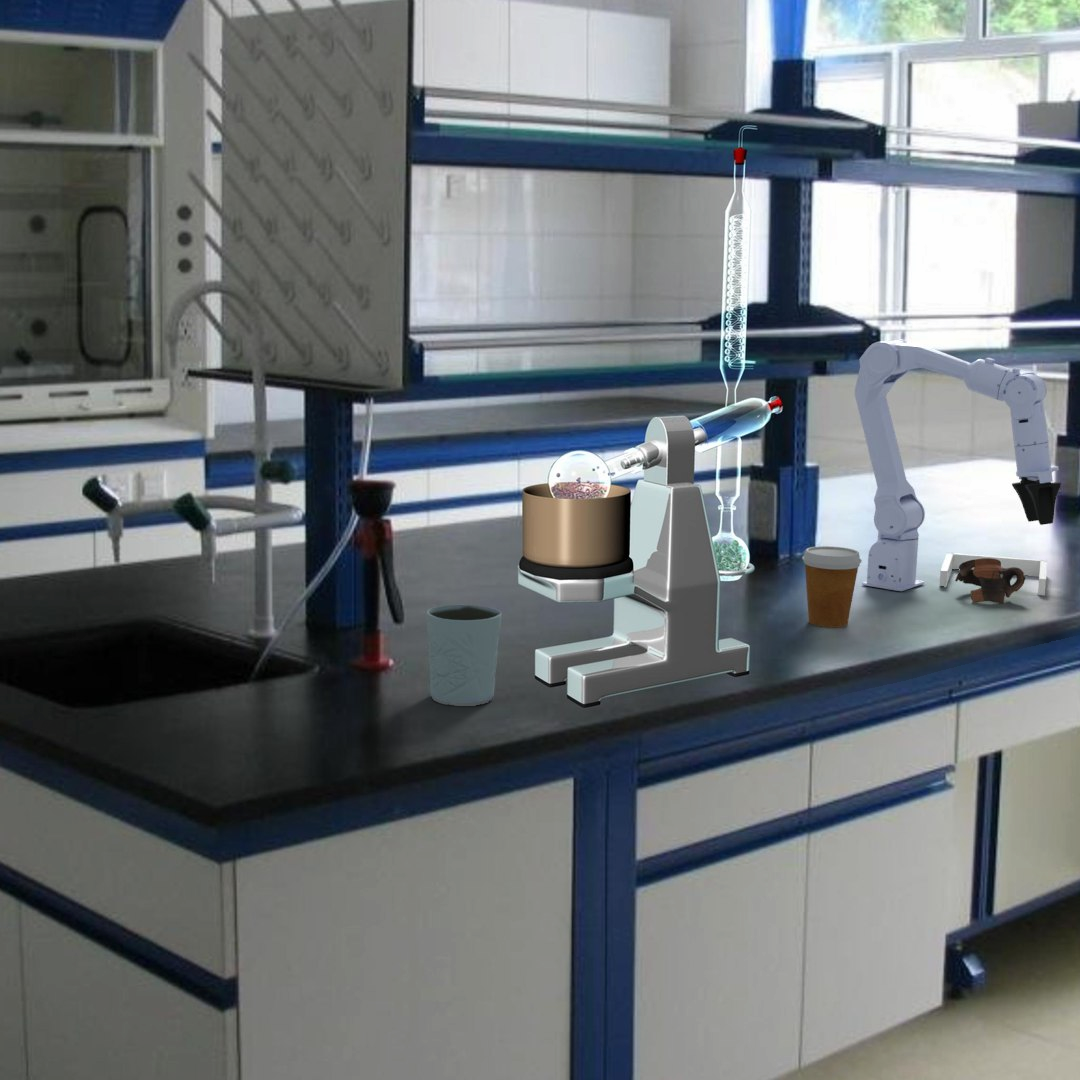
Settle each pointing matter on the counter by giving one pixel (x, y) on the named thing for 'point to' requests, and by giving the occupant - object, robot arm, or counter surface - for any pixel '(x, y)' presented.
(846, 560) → the disposable coffee cup
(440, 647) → the grey tapered cup
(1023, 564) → the u-shaped white bracket
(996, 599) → the pottery mug
